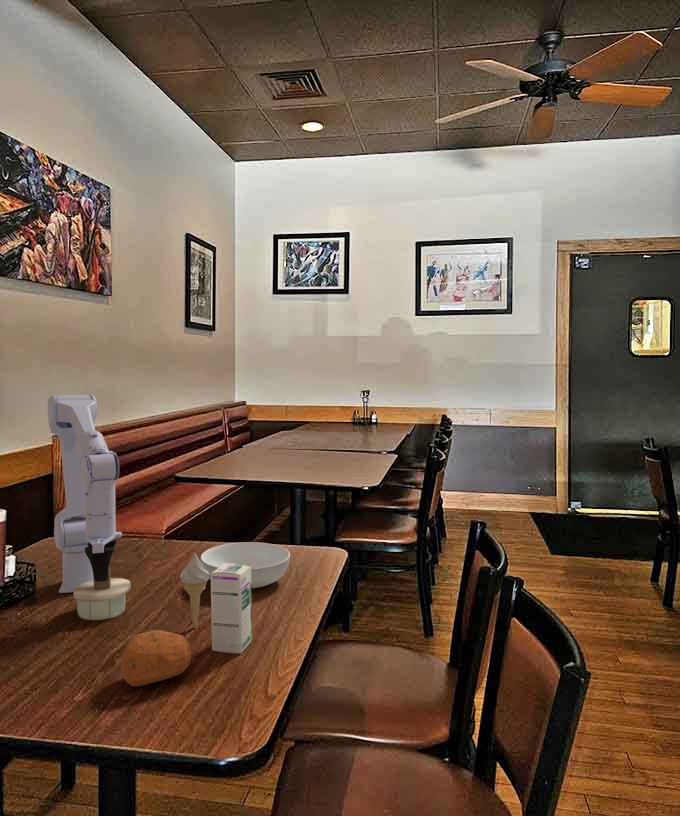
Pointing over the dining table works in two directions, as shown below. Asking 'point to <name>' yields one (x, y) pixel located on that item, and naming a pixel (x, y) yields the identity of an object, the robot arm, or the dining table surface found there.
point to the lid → (102, 589)
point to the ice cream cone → (194, 583)
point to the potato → (155, 657)
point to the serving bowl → (250, 560)
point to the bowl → (101, 608)
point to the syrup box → (231, 608)
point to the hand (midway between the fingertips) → (101, 578)
